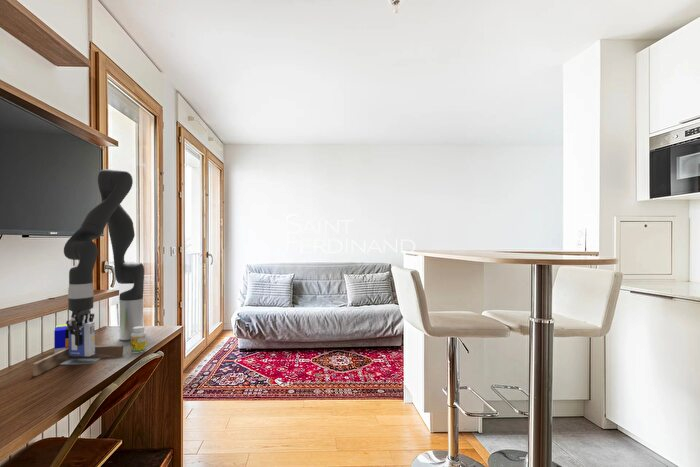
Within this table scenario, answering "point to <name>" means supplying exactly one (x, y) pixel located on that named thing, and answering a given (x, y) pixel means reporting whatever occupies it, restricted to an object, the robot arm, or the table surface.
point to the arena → (65, 359)
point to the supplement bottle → (138, 340)
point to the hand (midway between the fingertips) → (80, 344)
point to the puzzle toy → (61, 338)
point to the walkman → (88, 341)
